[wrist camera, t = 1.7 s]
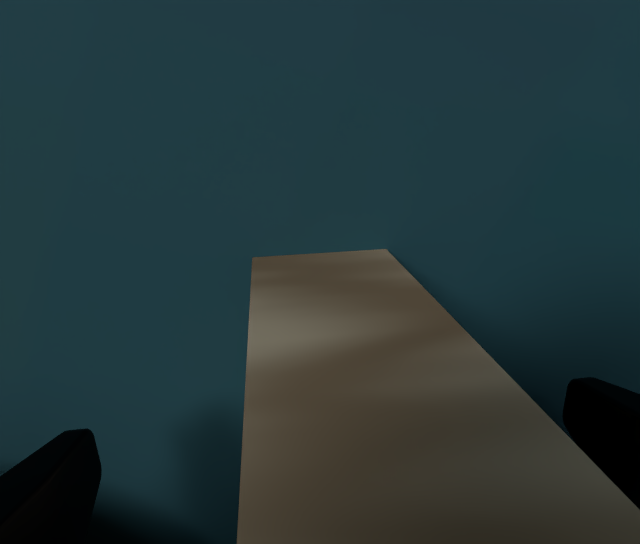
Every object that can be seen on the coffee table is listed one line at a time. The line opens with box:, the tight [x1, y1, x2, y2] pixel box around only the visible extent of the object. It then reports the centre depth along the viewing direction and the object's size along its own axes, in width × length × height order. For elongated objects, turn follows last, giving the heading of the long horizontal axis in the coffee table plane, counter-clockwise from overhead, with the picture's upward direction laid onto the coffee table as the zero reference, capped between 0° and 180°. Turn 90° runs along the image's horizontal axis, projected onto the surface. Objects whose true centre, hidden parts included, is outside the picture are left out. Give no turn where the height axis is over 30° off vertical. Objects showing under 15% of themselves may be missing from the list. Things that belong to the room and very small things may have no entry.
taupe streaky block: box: [237, 249, 640, 544], centre depth 7 cm, size 3×5×8 cm, turn 2°
